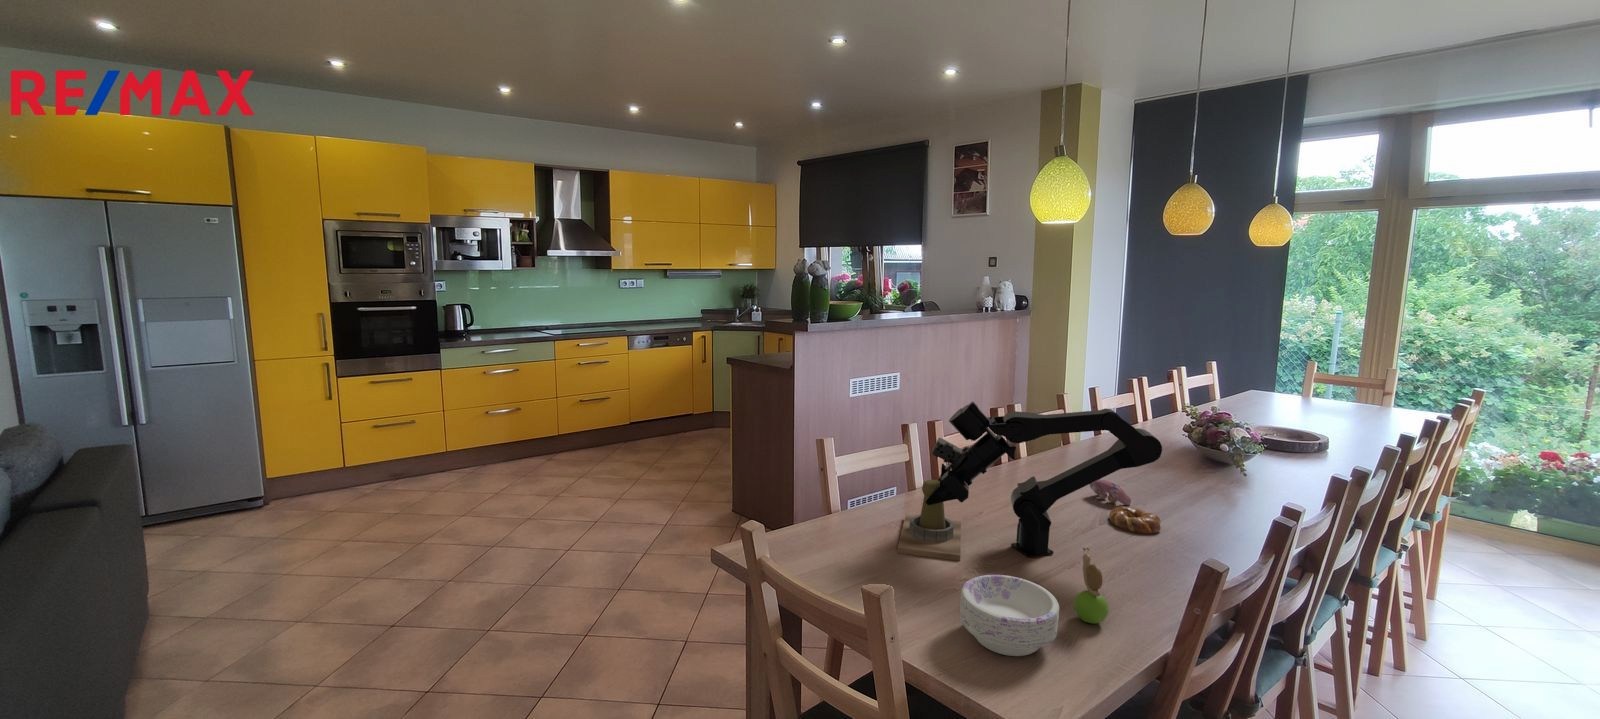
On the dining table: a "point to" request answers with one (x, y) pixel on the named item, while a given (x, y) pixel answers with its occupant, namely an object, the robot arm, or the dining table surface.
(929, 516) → the cork
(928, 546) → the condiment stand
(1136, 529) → the pretzel
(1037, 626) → the paper bowls
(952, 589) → the dining table surface
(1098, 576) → the snail figurine
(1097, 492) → the video game controller
